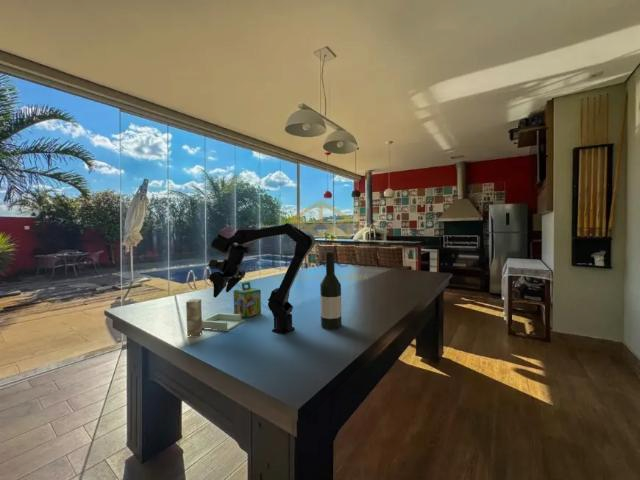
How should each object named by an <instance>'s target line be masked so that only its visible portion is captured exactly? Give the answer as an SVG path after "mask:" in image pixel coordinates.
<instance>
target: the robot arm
mask: <svg viewBox="0 0 640 480" xmlns="http://www.w3.org/2000/svg"><path fill="white" fill-rule="evenodd" d="M283 235H287V236H288V237H289V238H290V239H291V240H292V241H294V242H295V243H296V244H295V247H294V254H293V257H292V259H291V261H290V263H289V266H288V268H287V269H286V272H285V274H284V276H283V279H282V281H281V283H280V285H279V287H276V288H275V289H273V290H272V291H271V292H270V296H269V298H268V299H267V301H268V304H267V306H268V308H269V310H270V311H271V313H272V316H273V329H271V332H274V333H278V334H283V335H286V334H288V333H289V332H291V331H293V330H295V326H293V314H292V312H293V308H294V305H292V303H290V302H289V298H290V291H291V288H292V286H293V284H294V283H295V280H296V277H297V276H298V275H299V274H298V273H299V271H300V269H301V267H302V265H303V262H304V260H305V258H306V257H307V256H308V255H309V253H310V252H311V251H312V250H313V248H314V247H315V245H316V239H315V238H316V237H315V236H314V235H312V234H311V233H305V232H304V231H303V230H301V229H299V228H297V227H296V226H295V225H294V224H292V223H284V224H281V225H275V226H274V225H273V226H269V227H265V228H259V229H237V230H236V231H235V232H234V234H233V235H232V236H229V237H228V236H226V235H225V234H223V233H218V234H217V236H216V237H214V239H213V240H212V241H211V244H210V245H211V247H210V248H211V249H213V250H215V251H217V252H219V253H221V254H223V255H226V254H228V256H227V258H225V259H223V260H221V259H214V258H212V259H210V260H209V263H208V267H209V269H210V270H218V271H215V272H211V273H210V274H209V276H208V280H209V281H210V282H212V284H213V297H214V298H217V297H218V296H219V295H220V294H221V292H223V290H225V292H226V293H229V292H230V291H232V289H233V288H234V287H236V285H238V283H239V282H241V281H242V280H243V279H244V278H245V276H246V271H245V270H243V269H241V268H240V267H243V265H244V263H243V260H244V257H245V255H246V254H251V253H252V250H251V248H250V246H249V244H251V243H254V242H257V241H258V240H262V239H266V238H272V237H277V236H283ZM245 245H248V246H245Z"/></svg>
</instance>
